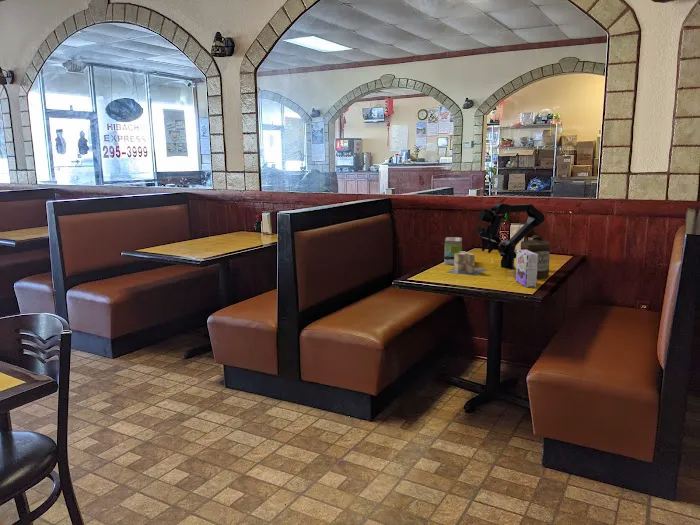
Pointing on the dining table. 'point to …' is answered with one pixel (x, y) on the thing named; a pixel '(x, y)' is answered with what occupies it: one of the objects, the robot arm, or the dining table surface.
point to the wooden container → (539, 254)
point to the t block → (464, 261)
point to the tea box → (452, 248)
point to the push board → (476, 272)
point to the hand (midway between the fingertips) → (485, 252)
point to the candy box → (526, 268)
